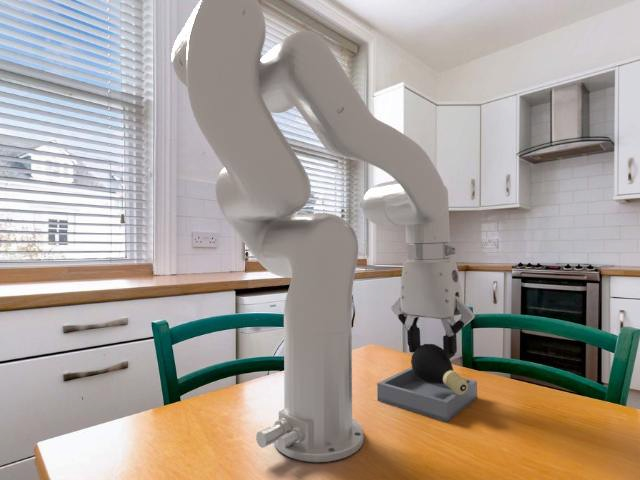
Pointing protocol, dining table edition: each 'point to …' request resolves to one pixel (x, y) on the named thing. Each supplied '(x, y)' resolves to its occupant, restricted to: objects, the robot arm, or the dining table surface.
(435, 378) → the light bulb
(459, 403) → the parts tray
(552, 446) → the dining table surface
